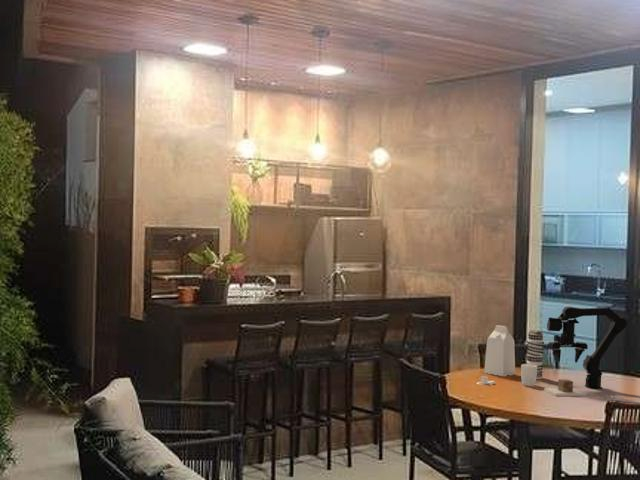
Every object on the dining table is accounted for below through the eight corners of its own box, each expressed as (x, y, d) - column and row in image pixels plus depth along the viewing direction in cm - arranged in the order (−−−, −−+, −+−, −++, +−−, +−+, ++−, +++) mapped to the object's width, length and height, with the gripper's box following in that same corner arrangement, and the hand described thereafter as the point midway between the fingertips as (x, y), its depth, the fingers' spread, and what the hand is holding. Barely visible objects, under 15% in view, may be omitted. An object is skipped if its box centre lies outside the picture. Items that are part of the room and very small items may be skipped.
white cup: (537, 387, 394) (537, 367, 393) (520, 385, 395) (521, 366, 395) (536, 384, 401) (536, 364, 401) (520, 383, 403) (520, 363, 403)
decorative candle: (540, 379, 414) (542, 332, 413) (523, 377, 418) (524, 330, 418) (545, 377, 421) (546, 330, 421) (528, 375, 426) (529, 329, 426)
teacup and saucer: (495, 384, 399) (496, 376, 399) (492, 386, 392) (492, 378, 392) (478, 382, 403) (478, 374, 403) (474, 385, 396) (475, 376, 396)
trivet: (575, 390, 387) (575, 388, 387) (586, 395, 375) (587, 393, 375) (544, 390, 385) (544, 388, 385) (555, 395, 373) (555, 393, 373)
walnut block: (567, 389, 383) (568, 379, 383) (572, 391, 378) (573, 381, 378) (558, 389, 382) (558, 379, 382) (562, 391, 377) (563, 381, 377)
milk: (515, 374, 428) (516, 326, 428) (503, 376, 420) (504, 327, 420) (496, 370, 437) (497, 324, 436) (484, 373, 429) (485, 325, 428)
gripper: (578, 329, 407) (577, 360, 407) (544, 329, 404) (543, 359, 405) (588, 332, 396) (587, 363, 396) (553, 332, 393) (552, 363, 394)
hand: (567, 362), depth 398 cm, fingers open, 9 cm apart
